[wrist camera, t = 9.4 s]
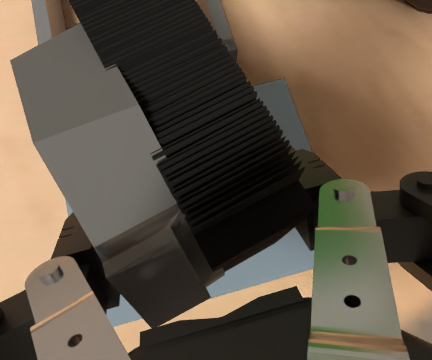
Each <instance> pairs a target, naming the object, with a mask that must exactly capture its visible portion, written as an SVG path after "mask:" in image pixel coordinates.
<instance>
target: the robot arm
mask: <svg viewBox="0 0 432 360" xmlns="http://www.w3.org/2000/svg"><path fill="white" fill-rule="evenodd" d="M285 141H286V140H284V142H285ZM289 146H291V145H290V144H289V145H288V146H287V147H289ZM295 151H296V152H295ZM293 152H295V154H294V156H293V158H292V159H294V158H296V157H298V156H299V157H298V159H297V160H296V162H295V164H296V163H298V162H300V161H302V162H301V164H300V167H299V169H301V168H303V167H305V166H306V167H305V169H304V171H303V173H302V175H301V177H300V180H299V181H300V183H301V184H302V186H303V187H304V189H305V190H306V191H307V193H308V194H309V196H310V197H311V199H312V200H313V202H314V203H315V205H316V206H317V208H318V209H317V210H316V211H314V212H313V213H312V214H311V215H309V216H308V217H307V218H306V219H304V220H303V221H302V222H301V223H299V224H298V225H297V226H296V227H295V228H296V230H297V231H298V233H299V234H300V236H301V238H302V239H303V241H304V242H305V244H306V245H307V247H308V248H309V250H310V251H313V250H314V269H313V290H312V298H309V297H308V298H302V296H301V294H300V292H299V290H298V288H297V286H295V287H292V288H288V289H285V290H282V291H278V292H275V293H271V294H268V295H265V296H261V297H258V298H256V299H255V300H253V301H251V302H249V303H247V304H245V305H244V306H242V307H240V308H238V309H236V310H234V311H233V312H231V313H229V314H227V315H225V316H223V317H220V318H209V319H195V320H181V321H176V322H173V323H169V324H166V325H163V326H159V327H156V328H152V329H149V330H146V331H142V332H140V346H139V347H137V348H136V349H134V350H132V351H131V352H129V353H127V352H126V350H125V348H124V346H123V345H122V343H121V341H120V339H119V337H118V336H117V334H116V332H115V330H114V328H113V327H112V325H111V323H110V321H109V320H108V318H107V316H106V313H107V309H111V308H114V307H118V306H119V304H120V293H119V292H118V291H117V290H116V289H115V287H114V286H113V285H112V284H111V283H110V282H109V281H108V280H107V279H106V276H105V272H104V268H103V264H102V262H101V260H100V258H99V256H98V254H97V252H96V251H95V249H94V247H93V245H92V243H91V242H90V240H89V238H88V237H87V235H86V233H85V231H84V230H83V228H82V226H81V225H80V223H79V221H78V219H77V218H76V216H75V214H74V213H73V212H72V214H71V215H70V216H69V217H68V218H67V219H66V220H65V222H64V225H63V228H62V231H61V233H60V236H59V239H58V241H57V244H56V247H55V249H54V252H53V255H52V257H51V260H48V261H46V262H45V263H43V264H41V265H40V266H38V267H37V268H36V269H35V270H34V271H33V272H32V273H31V274H30V275H29V276H28V278H27V279H26V282H25V289H26V290H24V291H22V292H20V293H18V294H16V295H14V296H12V297H10V298H8V299H6V300H4V301H2V302H0V360H432V344H431V343H429V342H426V341H424V340H422V339H420V338H418V337H416V336H414V335H411V334H409V333H407V332H405V331H403V330H401V329H400V324H399V319H398V314H397V309H396V304H395V298H394V293H393V288H392V283H391V278H390V273H389V268H388V263H394V262H398V263H399V264H400V266H401V267H403V268H404V269H405V270H406V271H407V272H409V273H410V274H411V275H412V276H414V277H415V278H416V279H417V280H419V281H420V282H421V283H422V284H424V285H425V286H426V287H427V288H428V289H430V290H431V291H432V172H427V171H425V172H415V173H411V174H408V175H406V176H404V177H403V178H402V179H401V181H400V190H393V191H380V192H370V189H369V187H368V186H367V185H366V184H365V183H363V182H361V181H358V180H354V179H342V178H341V177H340V176H339V175H337V174H336V173H335V172H334V171H333V170H332V169H331V168H330V167H329V166H328V165H326V164H325V163H324V162H323V161H322V160H320V158H319V157H318V156H317V155H316V154H314V153H313V152H310V151H307V150H304V149H300V150H295V149H294V148H293V147H292V146H291V149H290V151H289V154H291V153H293ZM289 154H288V155H289ZM299 169H298V170H299Z"/></svg>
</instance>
